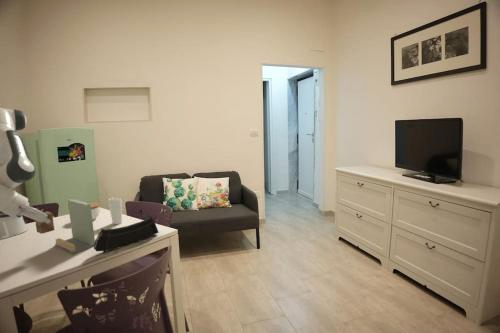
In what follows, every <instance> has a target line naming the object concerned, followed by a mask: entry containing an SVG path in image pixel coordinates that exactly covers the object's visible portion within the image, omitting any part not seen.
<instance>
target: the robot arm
mask: <svg viewBox="0 0 500 333" xmlns="http://www.w3.org/2000/svg"><path fill="white" fill-rule="evenodd" d="M27 123H28V119H27V116H26V114H25V112H24V111H22V110H20V109H16V108H14V109H10V108H5V107H4V108H3V107H0V161H1V162H0V240H4V239H7V238H10V237H13V236H17V235H20V234H22V233H25V232H26V231H28V227H27V225H26V223H25V219H24V217H26V218H29V219H31V220H34V221H35V220H36V221H39V222H45V223H47V224H48V223H50V221H51V220H50V219H48V218H47V216H48V215H46V214H45V213H43V212H44V211H41V210H40V209H39V210H38V209H37V208H34V207H33V206H31V205H30V202H29V198H28V197H26V196H24V195H22V194H21V193H19V192H17V191H16V190H14V188H16V187H18V186H19V185H22V184H23V183H25V182H28V181H30V180H32V179H33V178H34V177H35V175H36V167H35V165H34V163H33V162H32V160H31V157H30V156H29V152H28V150H27V147H26V144H25V141H24V139H23V137H22V135H21V134H20V132H18V131H22V130H24V129H25V128H26V126H27ZM23 216H24V217H23Z"/></svg>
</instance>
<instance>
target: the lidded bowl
mask: <svg viewBox="0 0 500 333" xmlns="http://www.w3.org/2000/svg"><path fill="white" fill-rule="evenodd" d="M86 203H89V204H90V205H91V213H92V221H95V220H96V219H97V218H98V217H99V215H100V211H101V208H100V207H101V205H100V203H99V202H89V201H87V202H86Z"/></svg>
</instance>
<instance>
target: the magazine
mask: <svg viewBox="0 0 500 333" xmlns="http://www.w3.org/2000/svg"><path fill="white" fill-rule="evenodd" d="M159 233H160V232H159V230H158V228H157V225H156V222H155V220H154V219H153V216H149V217H147V218H146V219H143V220H142V221H141V220H140V221H138V222H136V223H135V222H134V223H133V224H130V225H125V226H122V227H116V228H105V229H104V228H101V229H100V231H99V232H98V234H97V237H96V238H95V244H94V246H93V249H94V250H95V252H103V253H104V254H105V253H106V252H107V251H111V250H116V249H121V248H125V247H128V246H131V245H134V244H137V243H139V242H141V241H144V240H146V239H148V238H150V237H152V236H154V235H157V234H159Z"/></svg>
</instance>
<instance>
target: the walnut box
mask: <svg viewBox="0 0 500 333" xmlns="http://www.w3.org/2000/svg"><path fill="white" fill-rule="evenodd" d="M42 212H43V213H45V214H46V215H48V216H47V218H48V219H50V220H51V221H50V223H48V224H47V223H45V222H39V221H36V220H34V222H35V228H36V232H37V233H39V234H46V233H50V232H53V231H55V223H54V217H53V216H54V215H53V213H52V212H50V211H42Z"/></svg>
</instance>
